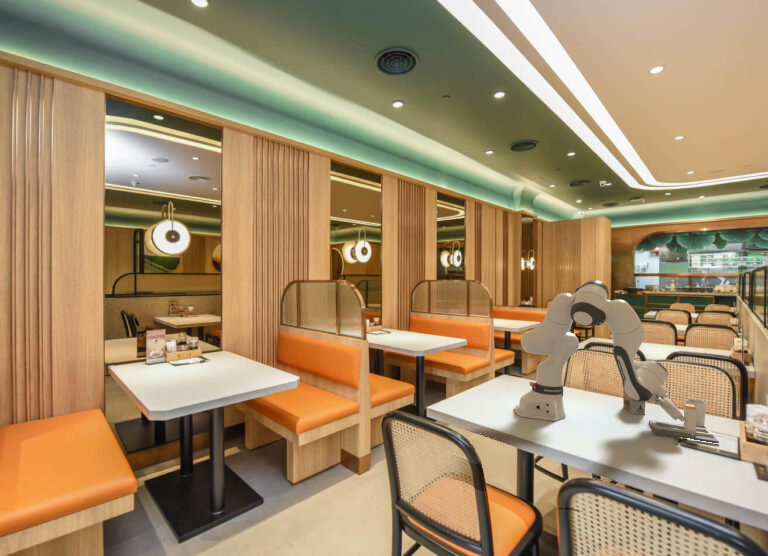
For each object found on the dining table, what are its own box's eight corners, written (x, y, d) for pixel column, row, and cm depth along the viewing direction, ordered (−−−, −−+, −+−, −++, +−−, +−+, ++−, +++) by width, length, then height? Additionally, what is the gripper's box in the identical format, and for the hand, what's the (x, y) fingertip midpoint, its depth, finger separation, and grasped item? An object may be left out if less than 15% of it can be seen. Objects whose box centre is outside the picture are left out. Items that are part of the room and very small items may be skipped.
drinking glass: (689, 425, 162) (689, 402, 162) (683, 420, 169) (683, 398, 169) (708, 427, 160) (708, 404, 160) (701, 422, 166) (701, 399, 166)
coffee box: (622, 407, 185) (622, 374, 185) (636, 408, 184) (637, 375, 184) (630, 413, 176) (631, 379, 176) (646, 414, 175) (646, 380, 175)
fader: (686, 431, 152) (686, 406, 152) (684, 428, 155) (684, 403, 155) (695, 433, 150) (695, 407, 150) (693, 430, 153) (693, 404, 153)
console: (655, 435, 152) (655, 429, 152) (648, 423, 164) (648, 417, 164) (718, 445, 143) (718, 438, 143) (706, 432, 155) (706, 426, 155)
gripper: (666, 394, 147) (698, 423, 143) (656, 382, 166) (683, 407, 161) (652, 404, 149) (683, 433, 145) (643, 390, 168) (670, 416, 163)
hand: (683, 419), depth 153 cm, fingers closed
